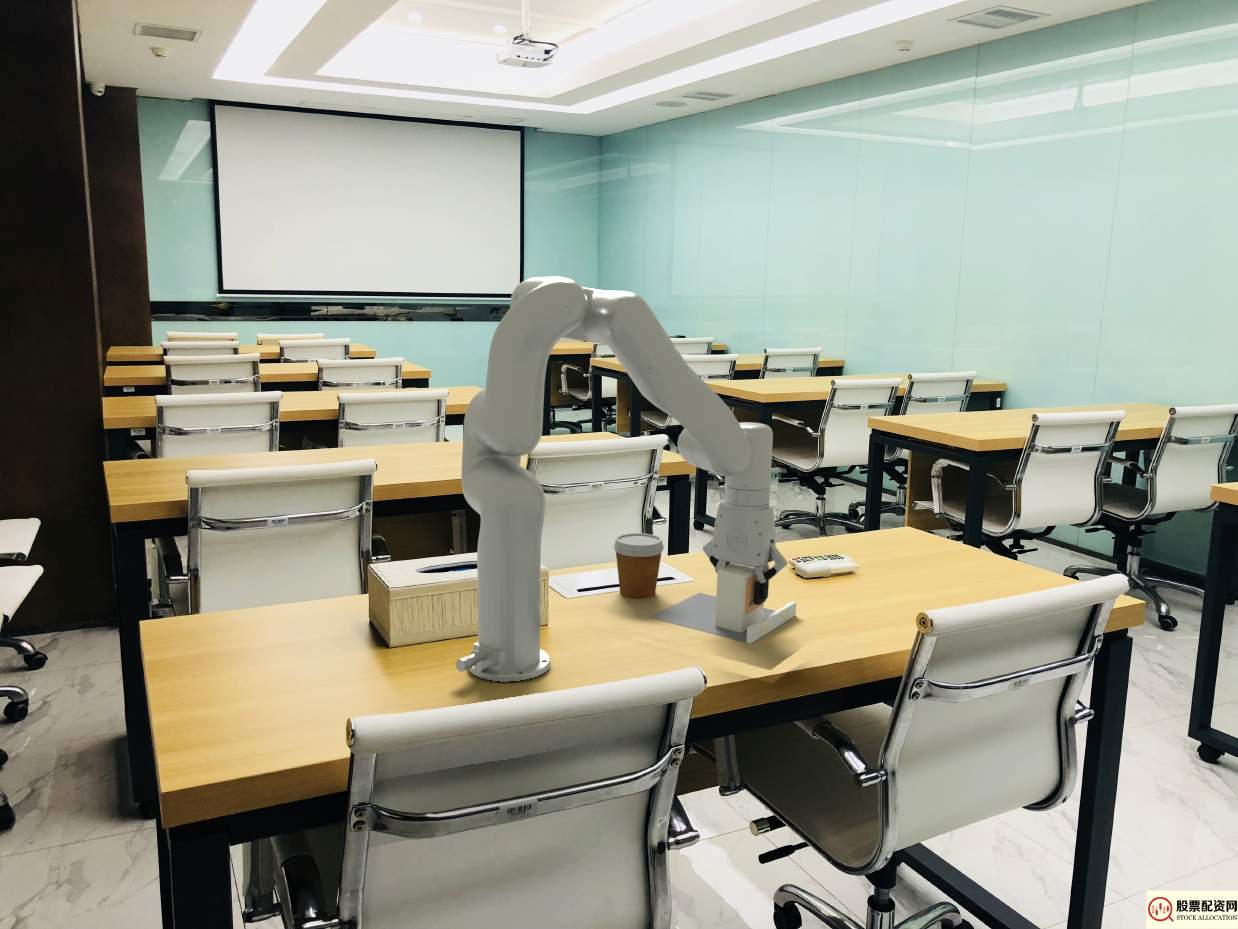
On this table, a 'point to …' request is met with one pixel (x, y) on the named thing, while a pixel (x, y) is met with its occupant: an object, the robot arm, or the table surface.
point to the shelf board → (703, 613)
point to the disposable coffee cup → (638, 564)
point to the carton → (737, 598)
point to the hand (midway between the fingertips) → (742, 597)
